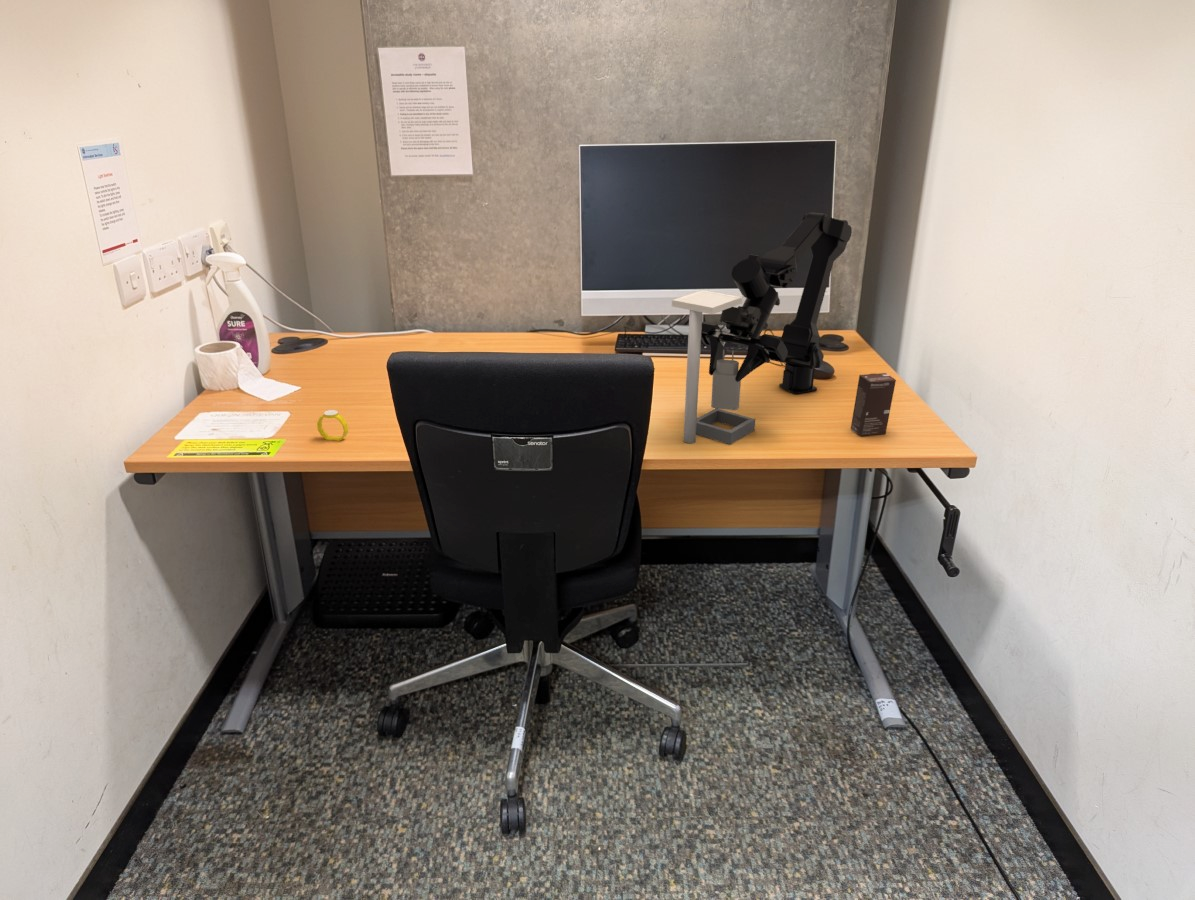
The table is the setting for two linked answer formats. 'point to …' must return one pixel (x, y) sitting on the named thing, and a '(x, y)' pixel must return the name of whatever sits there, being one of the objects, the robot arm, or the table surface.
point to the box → (872, 404)
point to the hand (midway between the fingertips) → (723, 377)
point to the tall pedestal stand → (702, 424)
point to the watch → (332, 415)
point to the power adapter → (726, 385)
